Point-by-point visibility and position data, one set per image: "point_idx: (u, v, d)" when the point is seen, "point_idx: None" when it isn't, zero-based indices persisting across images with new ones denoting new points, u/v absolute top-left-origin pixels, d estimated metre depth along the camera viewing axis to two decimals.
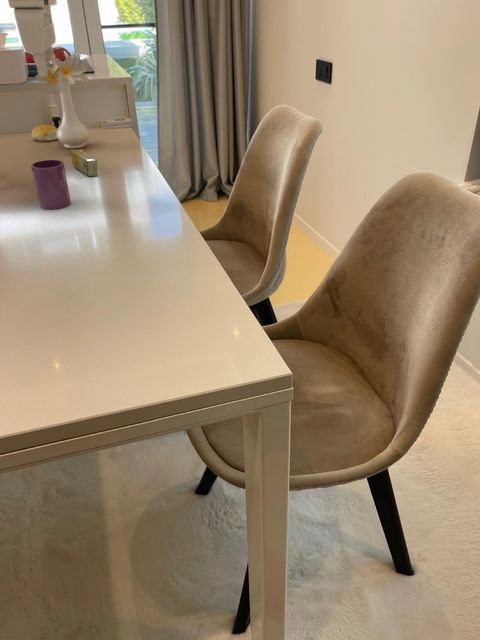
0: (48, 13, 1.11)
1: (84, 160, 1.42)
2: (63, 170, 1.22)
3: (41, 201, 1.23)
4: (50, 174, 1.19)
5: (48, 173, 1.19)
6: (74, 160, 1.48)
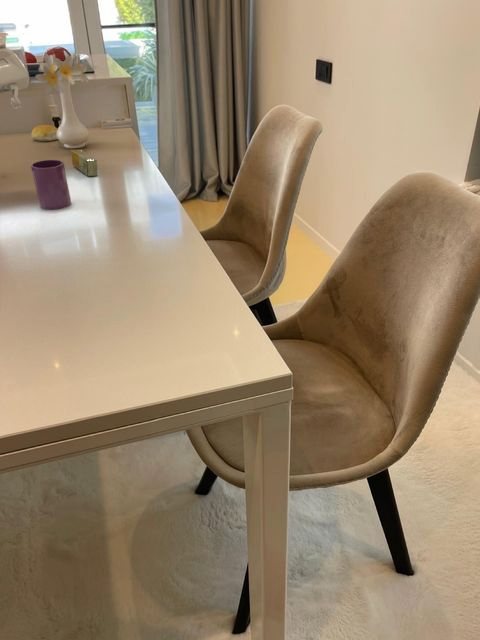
0: None
1: (84, 160, 1.42)
2: (63, 170, 1.22)
3: (41, 201, 1.23)
4: (50, 174, 1.19)
5: (48, 173, 1.19)
6: (74, 160, 1.48)
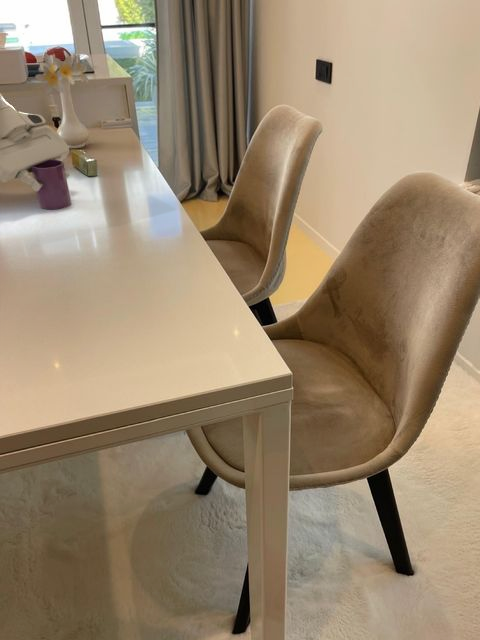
0: None
1: (84, 160, 1.42)
2: (63, 170, 1.21)
3: (41, 201, 1.23)
4: (50, 174, 1.19)
5: (48, 173, 1.19)
6: (74, 160, 1.48)
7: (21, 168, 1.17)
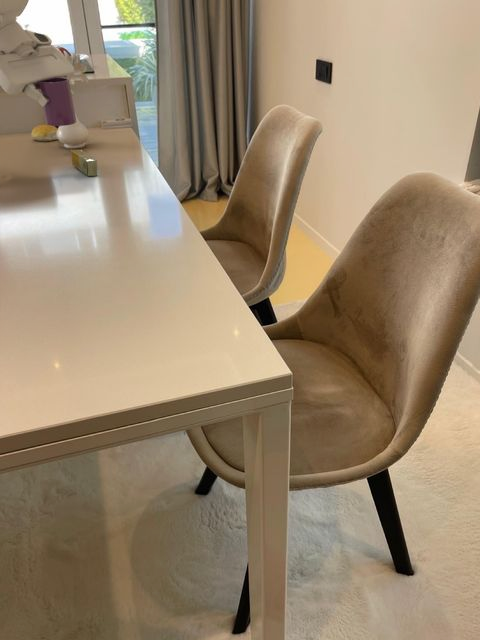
0: None
1: (84, 160, 1.42)
2: (68, 86, 1.25)
3: (47, 117, 1.27)
4: (56, 89, 1.23)
5: (54, 88, 1.23)
6: (74, 160, 1.48)
7: (28, 82, 1.21)
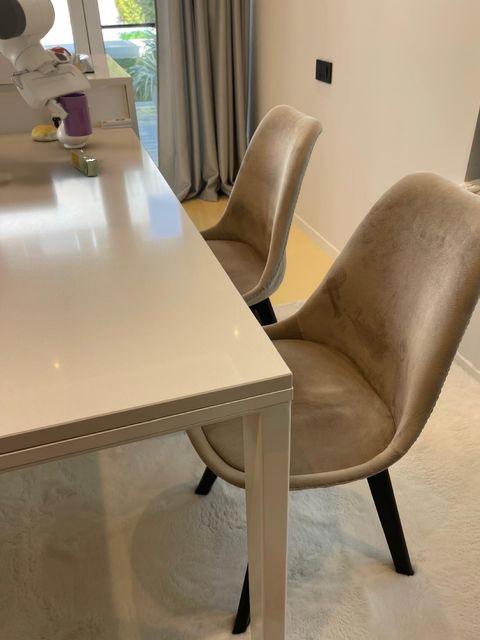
0: None
1: (84, 160, 1.42)
2: (86, 101, 1.38)
3: (67, 129, 1.39)
4: (76, 103, 1.35)
5: (74, 102, 1.35)
6: (74, 160, 1.48)
7: (50, 97, 1.33)
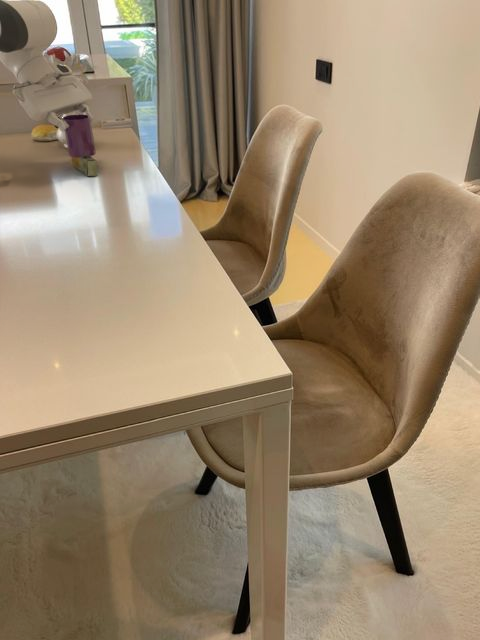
0: None
1: (84, 160, 1.42)
2: (90, 123, 1.40)
3: (70, 150, 1.42)
4: (79, 125, 1.38)
5: (77, 124, 1.38)
6: (74, 160, 1.48)
7: (51, 109, 1.34)
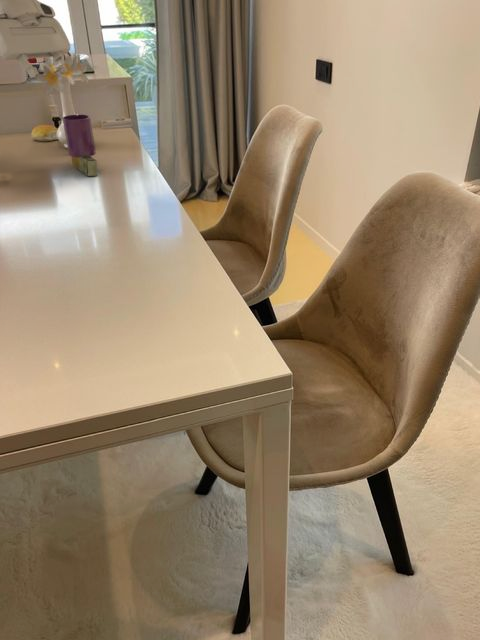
0: None
1: (84, 160, 1.42)
2: (90, 123, 1.40)
3: (70, 150, 1.42)
4: (79, 125, 1.38)
5: (77, 124, 1.38)
6: (74, 160, 1.48)
7: (24, 52, 1.26)
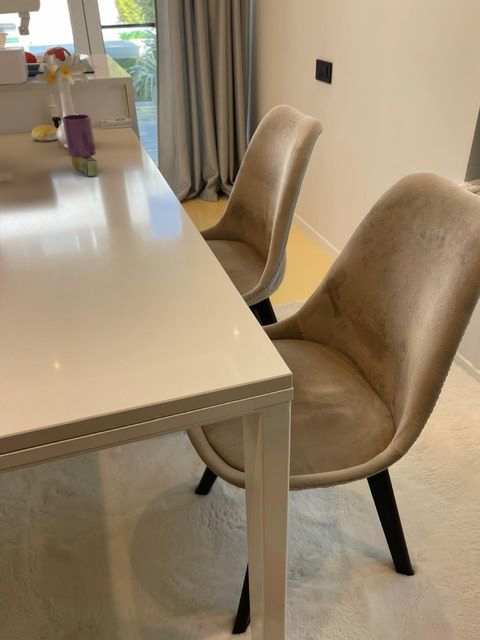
0: None
1: (84, 160, 1.42)
2: (90, 122, 1.40)
3: (70, 150, 1.42)
4: (79, 125, 1.38)
5: (77, 124, 1.38)
6: (74, 160, 1.48)
7: None
